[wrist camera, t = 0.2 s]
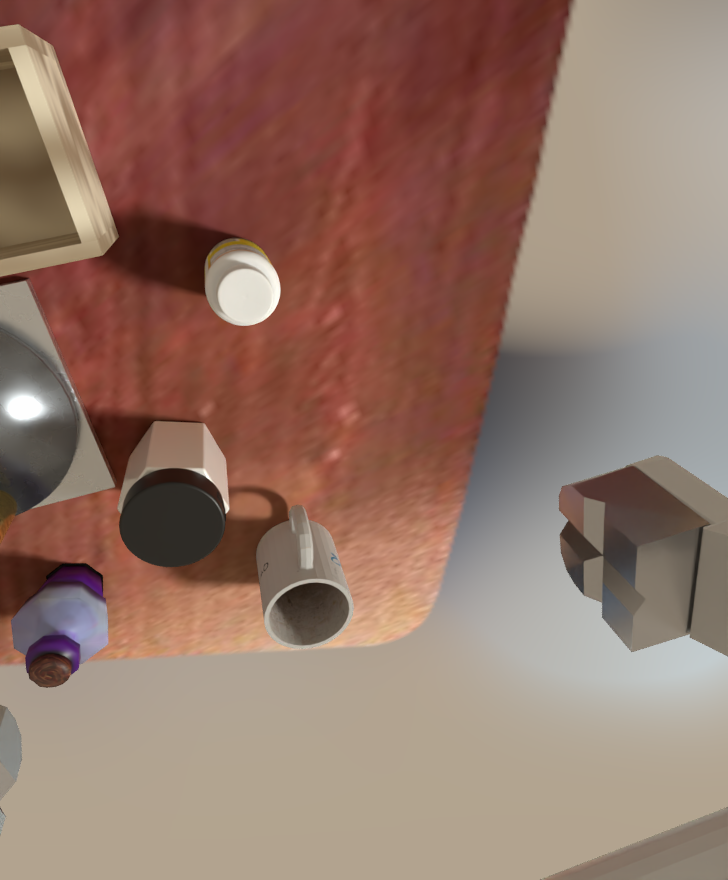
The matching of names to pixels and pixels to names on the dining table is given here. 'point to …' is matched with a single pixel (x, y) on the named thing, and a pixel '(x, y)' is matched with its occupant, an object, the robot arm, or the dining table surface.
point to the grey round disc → (31, 429)
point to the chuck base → (27, 321)
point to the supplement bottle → (241, 282)
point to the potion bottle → (62, 624)
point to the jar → (174, 495)
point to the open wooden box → (44, 164)
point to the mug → (302, 583)
